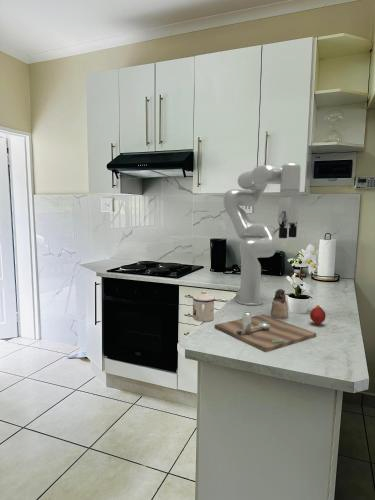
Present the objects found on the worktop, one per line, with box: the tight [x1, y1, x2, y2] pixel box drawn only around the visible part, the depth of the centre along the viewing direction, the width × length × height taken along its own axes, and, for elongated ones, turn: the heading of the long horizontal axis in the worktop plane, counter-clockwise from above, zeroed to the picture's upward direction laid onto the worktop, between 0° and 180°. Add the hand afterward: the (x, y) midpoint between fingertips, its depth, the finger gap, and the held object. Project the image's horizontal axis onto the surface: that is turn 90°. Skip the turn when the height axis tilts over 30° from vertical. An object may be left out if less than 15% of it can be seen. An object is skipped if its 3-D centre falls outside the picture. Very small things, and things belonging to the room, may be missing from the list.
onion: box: [309, 304, 327, 325], centre depth 135 cm, size 6×6×8 cm
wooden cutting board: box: [214, 313, 317, 353], centre depth 125 cm, size 26×26×1 cm
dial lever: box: [236, 311, 270, 335], centre depth 122 cm, size 15×4×7 cm, turn 124°
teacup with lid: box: [192, 290, 216, 323], centre depth 137 cm, size 12×9×12 cm
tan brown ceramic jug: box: [270, 288, 289, 320], centre depth 144 cm, size 7×7×12 cm
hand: (287, 237), depth 138 cm, fingers open, 9 cm apart
